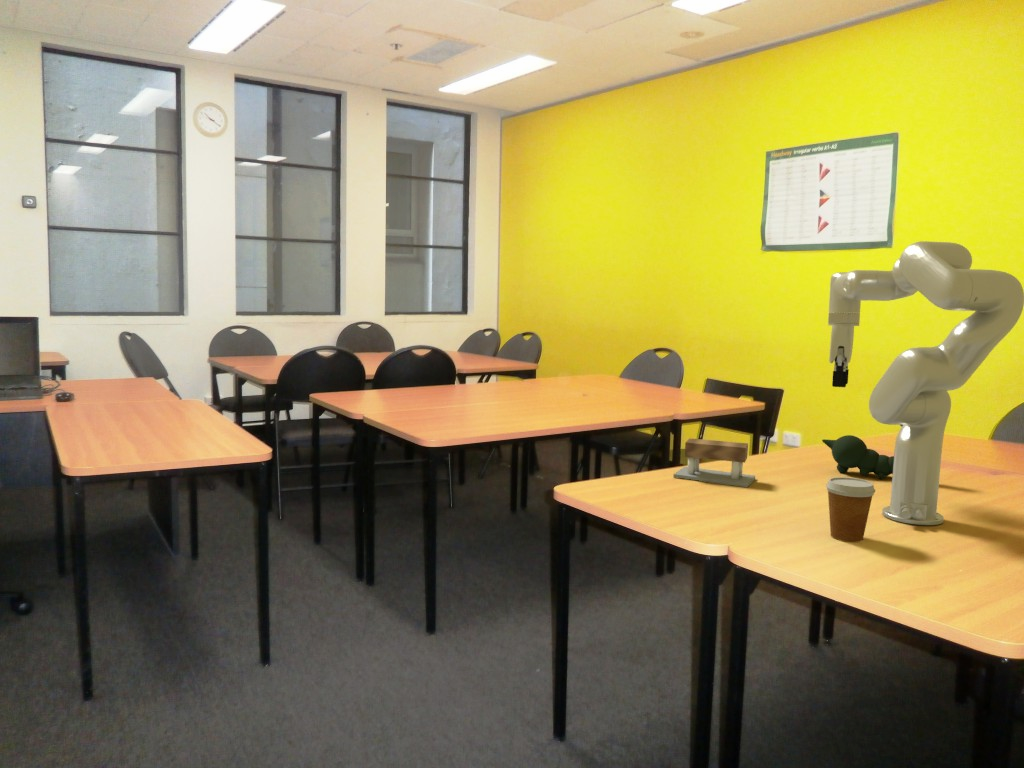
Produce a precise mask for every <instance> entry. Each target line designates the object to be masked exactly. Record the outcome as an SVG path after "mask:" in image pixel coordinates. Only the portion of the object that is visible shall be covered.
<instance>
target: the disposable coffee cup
mask: <svg viewBox="0 0 1024 768" xmlns="http://www.w3.org/2000/svg"><path fill="white" fill-rule="evenodd" d="M825 484H826V485H825V487H826V490H827V497H828V511H829V512H828V513H829V527H830V528H829V529H830V531H829V532H830V537H832V538H833V539H836V540H839V541H842V542H849V543H850V542H851V543H857V542H858V543H859V542H862V541H864V537H865V532H866V527H867V522H868V519H869V513H870V507H871V504H872V499H873V496H874V495H875V492H876V489H875V487H874V483H872V482H871V481H869V480H865V479H861V478H855V477H847V476H844V477H843V476H837V477H836V476H835V477H831V478H828V481H827V483H825Z"/></svg>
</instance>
